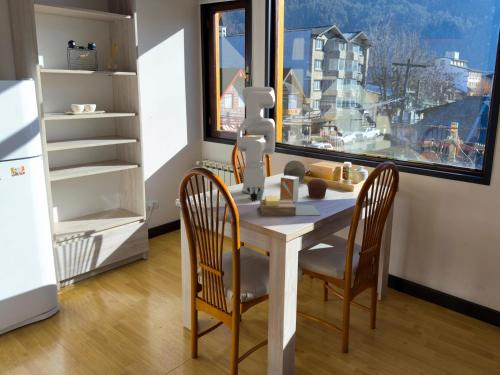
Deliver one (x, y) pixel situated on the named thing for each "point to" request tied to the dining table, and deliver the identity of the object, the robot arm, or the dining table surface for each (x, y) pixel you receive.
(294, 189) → the small box
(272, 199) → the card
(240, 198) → the dining table surface
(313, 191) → the muffin
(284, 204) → the deck
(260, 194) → the disposable coffee cup
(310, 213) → the mat
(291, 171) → the cantaloupe
